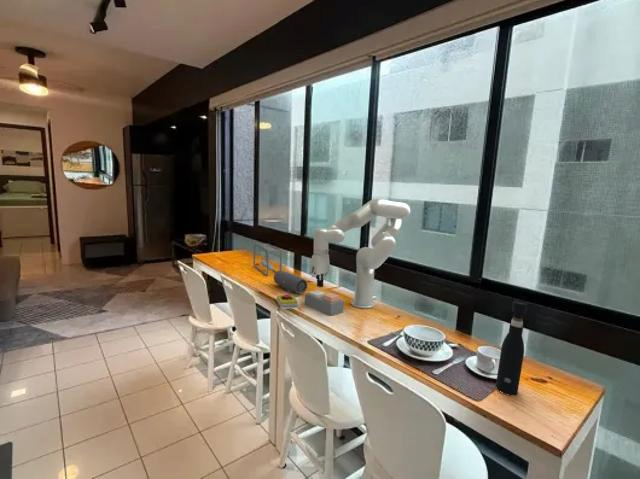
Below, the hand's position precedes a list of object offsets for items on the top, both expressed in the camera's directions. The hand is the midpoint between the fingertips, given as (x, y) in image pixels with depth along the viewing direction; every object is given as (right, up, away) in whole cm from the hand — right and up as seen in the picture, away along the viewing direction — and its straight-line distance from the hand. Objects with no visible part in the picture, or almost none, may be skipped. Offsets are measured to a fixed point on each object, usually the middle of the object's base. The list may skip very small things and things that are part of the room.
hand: (320, 286), depth 181 cm
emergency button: (-17, -10, +2) cm, 20 cm away
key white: (-2, -8, +1) cm, 8 cm away
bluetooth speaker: (-18, -6, +25) cm, 32 cm away
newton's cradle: (-38, +2, +66) cm, 77 cm away
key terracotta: (+5, -8, -6) cm, 12 cm away
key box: (+2, -11, -2) cm, 11 cm away
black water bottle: (+61, -25, -67) cm, 94 cm away
